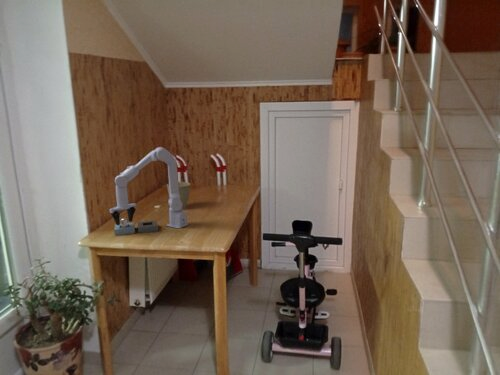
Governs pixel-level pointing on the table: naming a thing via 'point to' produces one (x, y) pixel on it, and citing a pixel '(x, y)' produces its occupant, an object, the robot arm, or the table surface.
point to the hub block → (124, 229)
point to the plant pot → (182, 192)
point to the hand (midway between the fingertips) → (124, 223)
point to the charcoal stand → (147, 226)
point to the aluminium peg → (124, 222)
